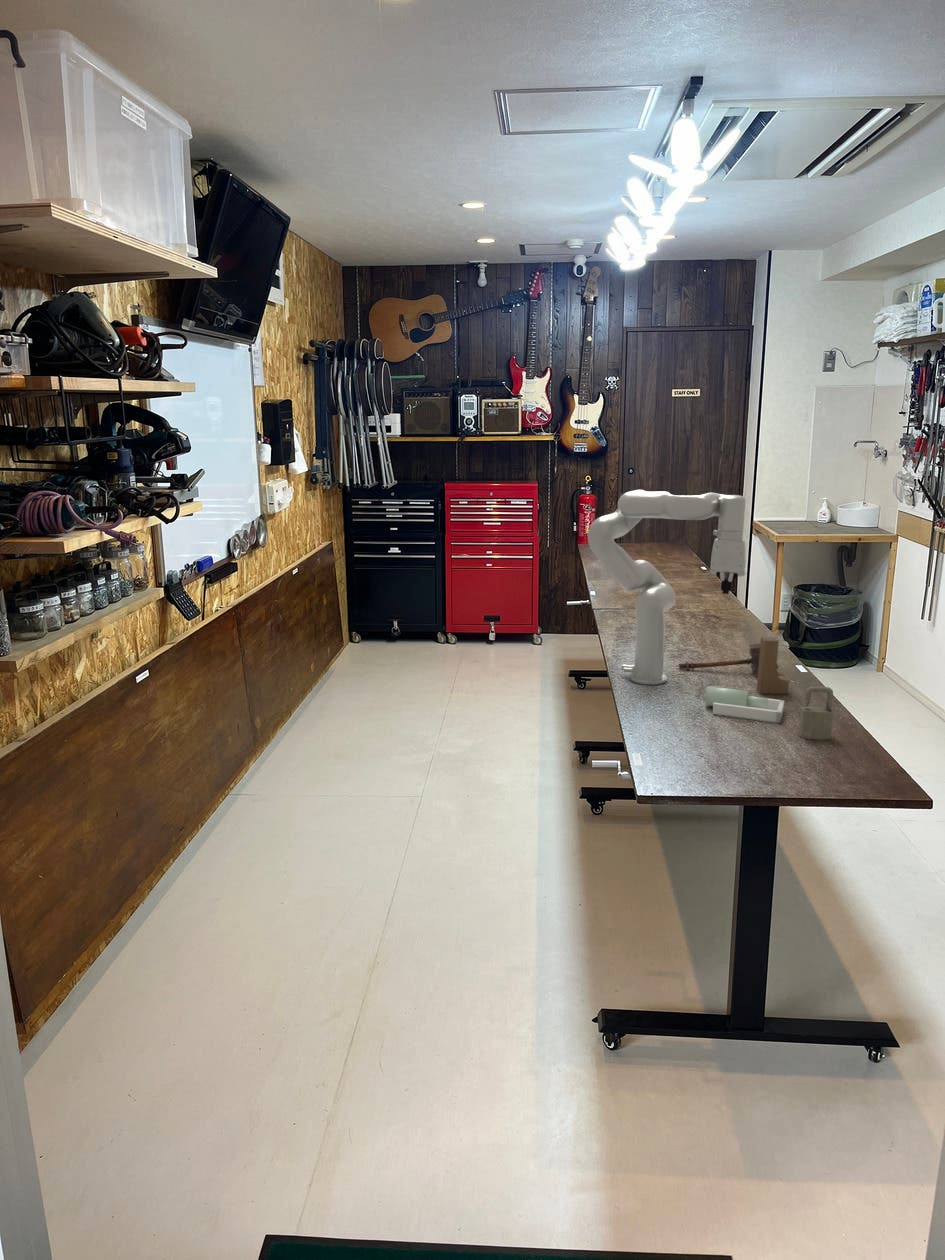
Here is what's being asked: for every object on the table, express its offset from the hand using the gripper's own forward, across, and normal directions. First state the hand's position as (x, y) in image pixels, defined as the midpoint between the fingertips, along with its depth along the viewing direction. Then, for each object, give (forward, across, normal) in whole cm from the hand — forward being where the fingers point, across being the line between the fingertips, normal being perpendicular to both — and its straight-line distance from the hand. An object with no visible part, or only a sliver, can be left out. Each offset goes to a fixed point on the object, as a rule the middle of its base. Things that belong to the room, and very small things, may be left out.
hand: (725, 592), depth 285 cm
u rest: (+33, +11, -16) cm, 38 cm away
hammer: (+34, 0, +23) cm, 41 cm away
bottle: (+30, -2, -15) cm, 33 cm away
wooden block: (+33, +16, +7) cm, 38 cm away
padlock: (+33, +31, -29) cm, 54 cm away
